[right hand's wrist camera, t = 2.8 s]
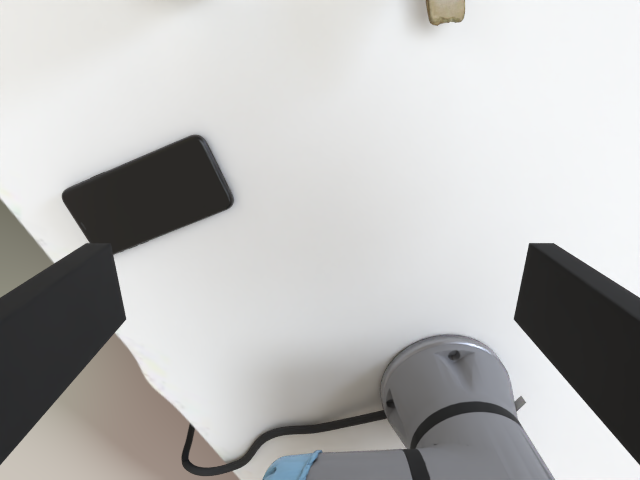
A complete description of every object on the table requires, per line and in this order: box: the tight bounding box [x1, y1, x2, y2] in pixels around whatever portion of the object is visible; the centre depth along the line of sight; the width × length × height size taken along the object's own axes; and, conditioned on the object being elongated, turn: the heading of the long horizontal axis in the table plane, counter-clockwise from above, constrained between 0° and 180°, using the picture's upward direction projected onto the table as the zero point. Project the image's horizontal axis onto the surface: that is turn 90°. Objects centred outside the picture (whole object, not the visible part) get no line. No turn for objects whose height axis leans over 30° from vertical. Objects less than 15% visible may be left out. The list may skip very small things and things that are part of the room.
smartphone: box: [62, 135, 234, 255], centre depth 39 cm, size 8×1×16 cm
